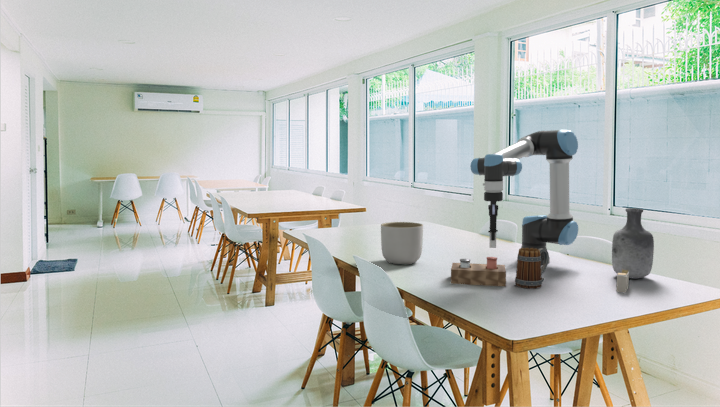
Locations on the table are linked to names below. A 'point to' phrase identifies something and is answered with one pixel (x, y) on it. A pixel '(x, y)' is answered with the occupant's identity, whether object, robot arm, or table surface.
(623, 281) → the model
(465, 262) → the plug grey
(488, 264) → the plug red
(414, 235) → the planter
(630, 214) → the vase
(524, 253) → the mug
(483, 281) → the socket block
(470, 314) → the table surface
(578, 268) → the table surface
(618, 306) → the table surface
